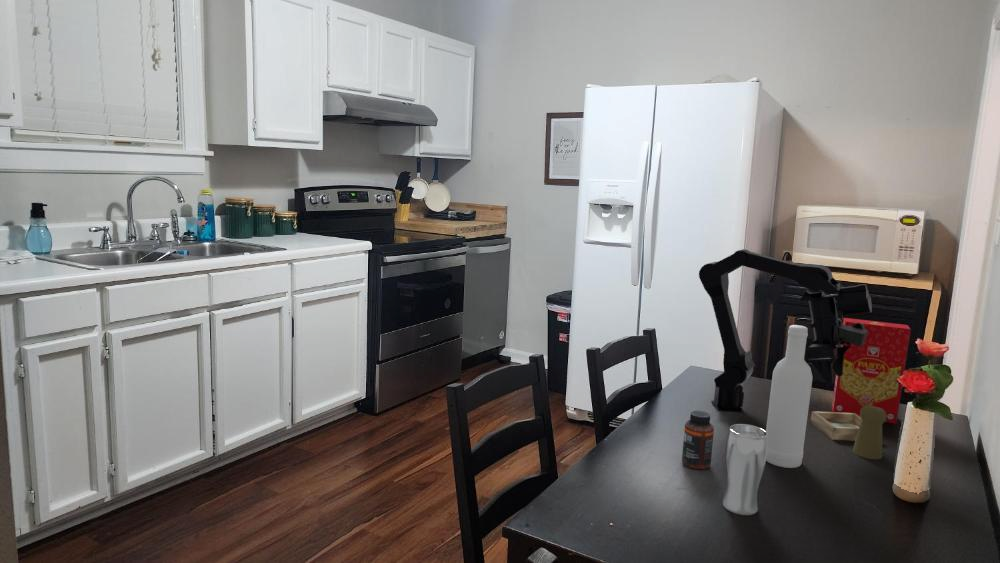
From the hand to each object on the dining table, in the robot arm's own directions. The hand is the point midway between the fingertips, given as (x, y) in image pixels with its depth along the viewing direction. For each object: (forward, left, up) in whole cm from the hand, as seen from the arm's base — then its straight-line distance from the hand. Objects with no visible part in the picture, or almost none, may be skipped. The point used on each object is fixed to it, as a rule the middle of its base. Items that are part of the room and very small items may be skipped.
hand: (835, 380), depth 163 cm
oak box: (+4, 0, -13) cm, 13 cm away
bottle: (-19, -19, -13) cm, 30 cm away
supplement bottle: (-39, -23, -13) cm, 47 cm away
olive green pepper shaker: (+3, -13, -13) cm, 19 cm away
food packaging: (+16, +13, -13) cm, 24 cm away
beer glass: (-36, -41, -13) cm, 56 cm away
